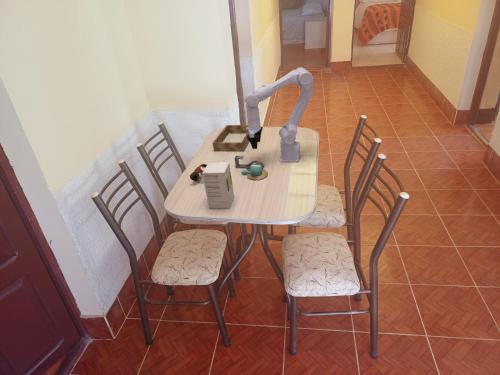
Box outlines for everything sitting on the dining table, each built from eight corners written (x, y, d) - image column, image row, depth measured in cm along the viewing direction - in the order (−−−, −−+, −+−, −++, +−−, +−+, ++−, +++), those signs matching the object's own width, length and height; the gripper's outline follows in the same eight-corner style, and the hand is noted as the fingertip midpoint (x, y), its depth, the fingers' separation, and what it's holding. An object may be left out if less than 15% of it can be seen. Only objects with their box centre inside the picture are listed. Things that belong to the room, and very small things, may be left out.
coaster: (269, 170, 171) (269, 169, 170) (265, 180, 162) (265, 179, 162) (249, 169, 173) (249, 168, 173) (244, 180, 165) (244, 179, 165)
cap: (263, 171, 169) (262, 163, 167) (260, 177, 165) (259, 168, 162) (244, 170, 172) (243, 162, 170) (240, 175, 168) (239, 167, 166)
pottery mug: (200, 173, 176) (206, 160, 172) (213, 185, 173) (219, 172, 169) (182, 178, 167) (188, 165, 163) (195, 191, 164) (201, 178, 159)
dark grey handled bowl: (265, 163, 178) (265, 153, 175) (262, 171, 170) (261, 161, 167) (238, 162, 181) (237, 152, 178) (234, 170, 174) (232, 160, 171)
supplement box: (230, 209, 146) (224, 173, 137) (208, 208, 148) (201, 173, 139) (234, 196, 154) (229, 161, 145) (214, 196, 156) (207, 162, 147)
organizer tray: (254, 132, 213) (253, 124, 211) (243, 151, 192) (242, 143, 189) (227, 132, 217) (226, 125, 215) (213, 151, 196) (212, 143, 194)
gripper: (248, 113, 173) (251, 139, 180) (241, 124, 161) (245, 151, 168) (262, 113, 172) (265, 139, 178) (256, 124, 160) (259, 151, 167)
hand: (256, 145), depth 173 cm, fingers open, 7 cm apart
